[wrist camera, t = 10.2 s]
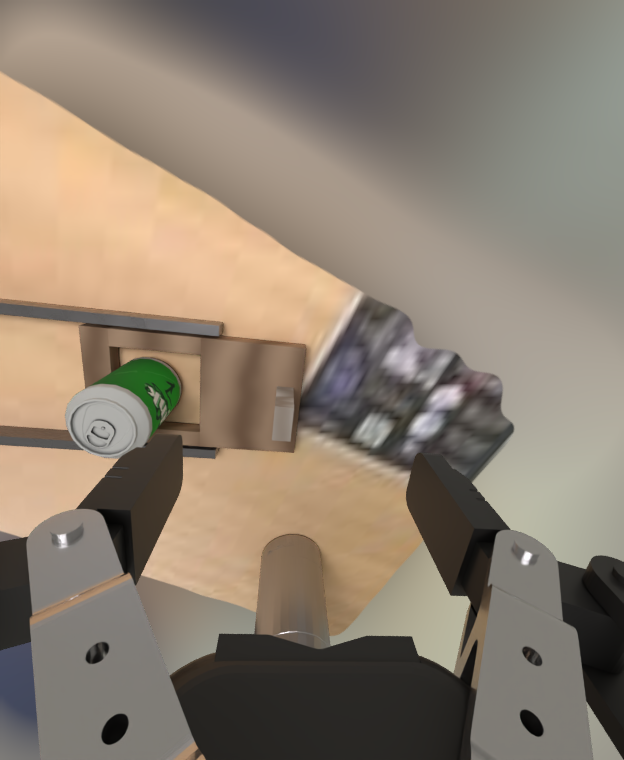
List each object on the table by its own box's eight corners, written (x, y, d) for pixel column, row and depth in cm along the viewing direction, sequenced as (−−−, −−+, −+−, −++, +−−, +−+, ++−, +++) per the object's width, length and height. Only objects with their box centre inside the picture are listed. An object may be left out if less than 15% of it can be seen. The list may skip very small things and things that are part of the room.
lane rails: (223, 322, 39) (219, 325, 37) (218, 448, 45) (215, 458, 43) (-97, 288, 36) (-123, 289, 34) (-59, 430, 41) (-79, 439, 39)
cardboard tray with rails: (305, 344, 40) (309, 362, 33) (293, 444, 45) (294, 481, 37) (89, 322, 38) (39, 337, 30) (99, 431, 42) (58, 467, 35)
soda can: (111, 392, 41) (44, 441, 30) (137, 342, 39) (76, 374, 28) (167, 421, 43) (124, 477, 32) (195, 375, 41) (159, 417, 30)
